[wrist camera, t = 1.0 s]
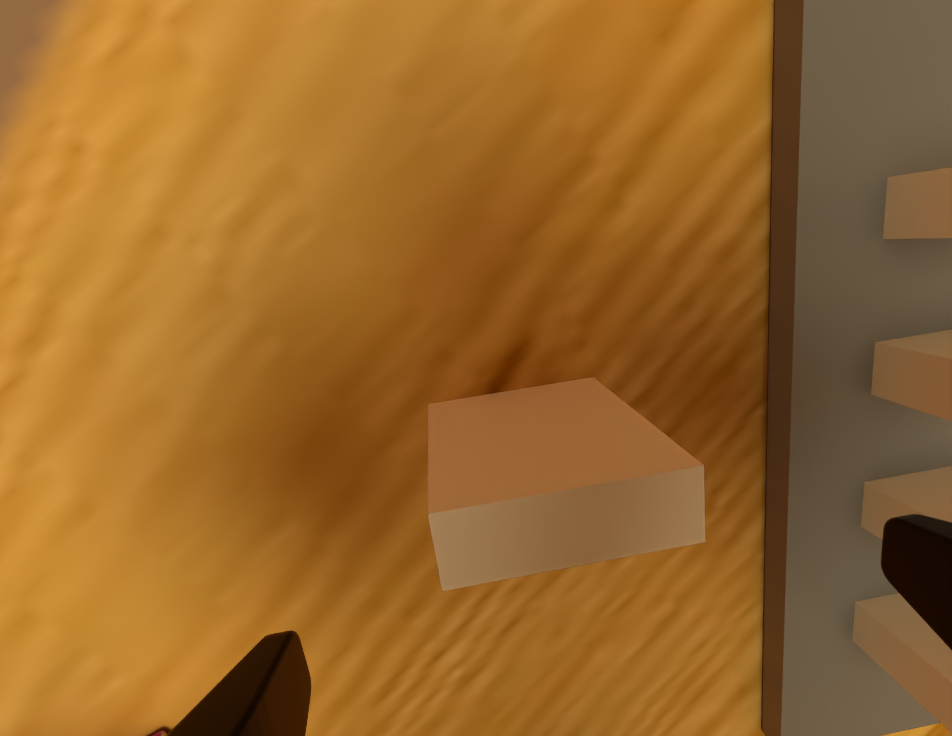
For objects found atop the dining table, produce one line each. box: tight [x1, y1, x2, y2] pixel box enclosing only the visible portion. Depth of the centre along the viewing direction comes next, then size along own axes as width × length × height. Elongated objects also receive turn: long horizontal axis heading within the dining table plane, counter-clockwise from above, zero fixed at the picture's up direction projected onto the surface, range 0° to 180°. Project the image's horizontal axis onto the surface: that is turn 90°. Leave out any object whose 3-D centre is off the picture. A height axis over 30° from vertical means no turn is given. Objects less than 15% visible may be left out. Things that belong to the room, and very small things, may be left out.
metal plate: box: [762, 0, 952, 736], centre depth 14 cm, size 31×10×1 cm, turn 8°
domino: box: [428, 377, 705, 591], centre depth 12 cm, size 2×5×6 cm, turn 98°
